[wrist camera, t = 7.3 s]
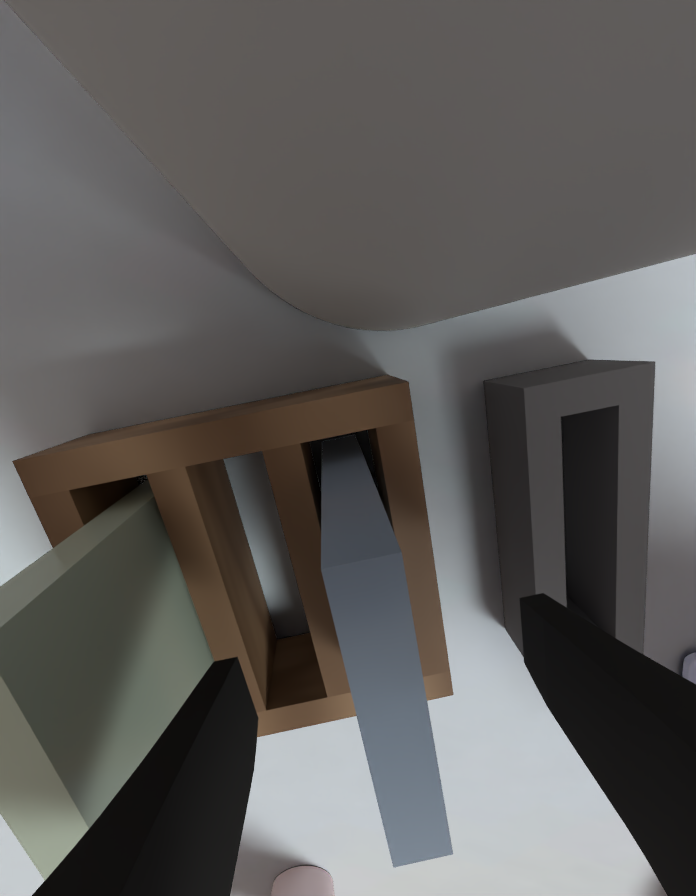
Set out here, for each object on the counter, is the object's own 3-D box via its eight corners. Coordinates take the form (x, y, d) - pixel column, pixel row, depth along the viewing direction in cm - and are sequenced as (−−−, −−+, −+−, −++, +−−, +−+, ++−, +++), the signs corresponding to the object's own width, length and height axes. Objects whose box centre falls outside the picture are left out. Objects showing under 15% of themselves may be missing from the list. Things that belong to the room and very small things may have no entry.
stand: (589, 359, 15) (655, 361, 12) (591, 611, 18) (642, 660, 15) (483, 380, 14) (523, 388, 12) (505, 629, 18) (540, 683, 15)
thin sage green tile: (183, 470, 15) (-19, 643, 6) (236, 628, 17) (144, 924, 8) (149, 477, 15) (-102, 660, 6) (207, 635, 17) (83, 938, 8)
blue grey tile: (355, 434, 15) (401, 552, 6) (386, 596, 17) (452, 854, 8) (321, 441, 15) (320, 568, 6) (357, 602, 17) (393, 867, 8)
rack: (388, 374, 14) (408, 381, 11) (428, 628, 17) (453, 694, 14) (87, 434, 14) (12, 461, 11) (185, 680, 17) (152, 759, 14)
